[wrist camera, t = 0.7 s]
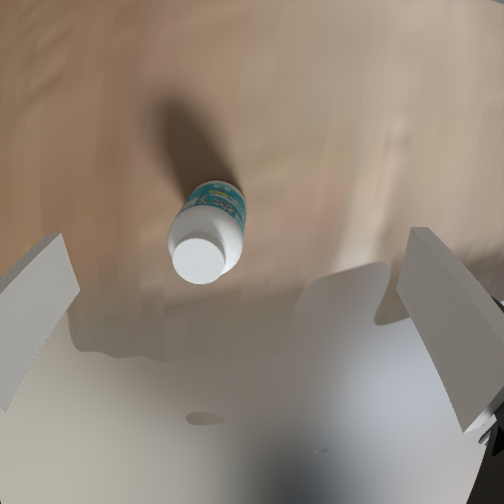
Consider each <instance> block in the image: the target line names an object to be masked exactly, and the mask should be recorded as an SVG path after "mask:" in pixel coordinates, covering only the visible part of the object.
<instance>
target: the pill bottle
mask: <svg viewBox="0 0 504 504" xmlns="http://www.w3.org/2000/svg"><path fill="white" fill-rule="evenodd" d="M246 214H247V206H246V202H245V199H244V197H243V195H242V194H241V192H240V191H239V190H238V189H237V188H236V187H234V186H233V185H231V184H229V183H227V182H224V181H209V182H205V183H203V184H201V185H200V186H198V187H197V188H196V189H195V190H194V191H193V192H192V194H191V195H190V196H189V198H188V199H187V201H186V202H185V204H184V205H183V207H182V208H181V210H180V212H179V213H178V215H177V216H176V218H175V219H174V221H173V223H172V224H171V226H170V229H169V232H168V239H167V242H168V249H169V252H170V254H171V256H172V260H173V265H174V268H175V270H176V271H177V273H178V274H179V275H180V276H181V277H182V278H184V279H185V280H187V281H189V282H192V283H196V284H206V283H210V282H212V281H214V280H216V279H217V278H218V277H219V276H220V275H221V274H224V273H225V272H227V271H229V270H230V269H231V268H232V267H233V266H234V265H235V264H236V263H237V261H238V260H239V257H240V255H241V252H242V247H243V239H244V231H245V222H246Z"/></svg>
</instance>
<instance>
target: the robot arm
mask: <svg viewBox="0 0 504 504" xmlns="http://www.w3.org/2000/svg"><path fill="white" fill-rule="evenodd" d="M79 291H80V288H79V286H78V283H77V280H76V277H75V274H74V272H73V269H72V266H71V263H70V260H69V257H68V253H67V250H66V247H65V244H64V240H63V237H62V234H61V233H49V234H47V235H46V236H44V237H43V238H42V239H41V240H40V241H39V242H38V243H37V244H36V245H34V246H33V247H32V248H31V249H30V250H29V251H28V252H27V253H26V254H25V255H24V256H23V257H22V258H21V259H20V260H19V261H18V262H17V263H16V264H15V265H14V266H12V267H11V268H10V269H9V270H8V272H7V273H6V274H5V275H4V276H3V277H2V278H1V279H0V411H2V412H4V413H5V412H6V410H7V408H8V407H9V405H10V402H11V401H12V399H13V397H14V395H15V393H16V391H17V389H18V388H19V386H20V384H21V382H22V380H23V379H24V377H25V375H26V373H27V371H28V370H29V368H30V366H31V365H32V363H33V361H34V360H35V358H36V356H37V355H38V353H39V351H40V350H41V348H42V347H43V345H44V343H45V342H46V340H47V339H48V337H49V335H50V334H51V332H52V330H53V329H54V328H55V326H56V325H57V323H58V322H59V320H60V319H61V317H62V315H63V314H64V313H65V311H66V310H67V308H68V307H69V306H70V304H71V303H72V301H73V300H74V298H75V297H76V296H77V294H78V293H79ZM396 291H397V293H398V294H399V296H400V298H401V300H402V302H403V304H404V305H405V307H406V309H407V311H408V313H409V315H410V317H411V319H412V320H413V322H414V324H415V326H416V328H417V330H418V332H419V334H420V336H421V338H422V340H423V342H424V344H425V346H426V348H427V350H428V352H429V354H430V356H431V358H432V361H433V363H434V365H435V367H436V369H437V371H438V373H439V376H440V378H441V380H442V382H443V385H444V387H445V389H446V392H447V394H448V396H449V398H450V401H451V403H452V406H453V408H454V411H455V413H456V416H457V418H458V421H459V423H460V426H461V428H462V431H463V433H464V432H467V431H470V430H473V429H475V428H478V427H481V426H483V425H484V424H485V423H486V422H487V421H488V419H489V418H490V417H491V416H492V415H493V414H495V417H496V419H497V421H496V422H495V423H494V424H493V425H492V426H491V427H490V428H489V429H488V431H486V433H484V434H483V436H482V437H481V438H480V440H479V442H478V443H480V444H481V443H482V442H483V441H484V440H485V439H486V438H487V437H488V436H489V435H490V436H489V440H488V441H487V443H486V444H485V446H487V447H486V450H485V454H484V457H483V460H482V463H481V466H480V469H479V472H478V475H477V478H476V480H475V483H474V486H473V488H472V491H471V493H470V496H469V499H468V501H467V503H466V504H504V306H503V305H502V304H501V303H500V302H498V301H497V300H496V299H494V298H493V297H492V296H490V295H489V294H488V293H487V292H486V290H485V289H484V288H483V287H482V286H481V284H480V283H479V282H478V281H477V280H476V278H475V277H474V276H473V275H472V274H471V273H470V271H469V270H468V269H467V268H466V267H465V266H464V265H463V264H462V262H461V261H460V260H459V259H458V258H457V257H456V256H455V255H454V254H453V253H452V252H451V250H450V249H449V248H448V247H447V246H446V245H445V244H444V243H443V242H442V241H441V240H440V239H439V238H438V237H437V236H436V235H435V234H434V233H433V232H432V231H431V230H430V229H429V228H428V227H411V229H410V234H409V239H408V244H407V248H406V252H405V257H404V261H403V265H402V269H401V273H400V277H399V280H398V284H397V288H396ZM0 504H1V502H0Z"/></svg>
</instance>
